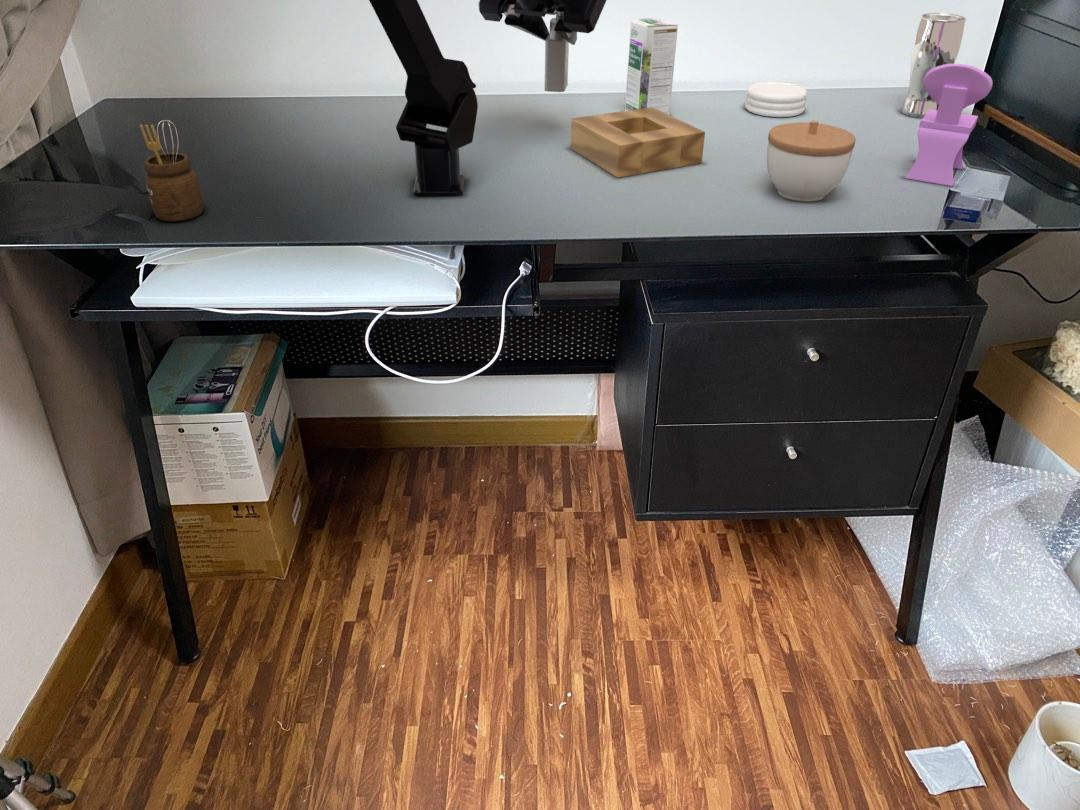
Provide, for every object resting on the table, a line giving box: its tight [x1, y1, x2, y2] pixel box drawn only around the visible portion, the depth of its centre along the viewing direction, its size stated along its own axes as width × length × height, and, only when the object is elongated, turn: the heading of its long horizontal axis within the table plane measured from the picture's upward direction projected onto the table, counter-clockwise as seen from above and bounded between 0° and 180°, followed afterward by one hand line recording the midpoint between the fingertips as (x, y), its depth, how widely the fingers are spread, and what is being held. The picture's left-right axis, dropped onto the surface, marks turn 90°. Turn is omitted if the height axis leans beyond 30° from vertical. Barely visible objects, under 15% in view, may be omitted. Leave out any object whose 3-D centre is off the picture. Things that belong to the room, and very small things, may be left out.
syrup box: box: [624, 17, 679, 115], centre depth 139 cm, size 6×6×14 cm
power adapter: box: [543, 12, 570, 93], centre depth 128 cm, size 3×5×12 cm, turn 172°
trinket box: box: [766, 119, 857, 202], centre depth 110 cm, size 11×11×9 cm
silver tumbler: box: [900, 12, 967, 119], centre depth 140 cm, size 7×7×15 cm
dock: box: [570, 107, 706, 179], centre depth 124 cm, size 14×14×4 cm
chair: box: [904, 63, 994, 187], centre depth 115 cm, size 8×9×15 cm
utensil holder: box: [139, 119, 204, 223], centre depth 103 cm, size 6×6×12 cm
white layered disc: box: [744, 81, 808, 118], centre depth 144 cm, size 10×10×4 cm
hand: (561, 40), depth 129 cm, fingers closed on power adapter, 4 cm apart
